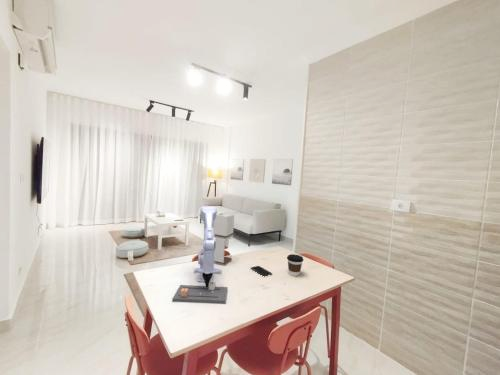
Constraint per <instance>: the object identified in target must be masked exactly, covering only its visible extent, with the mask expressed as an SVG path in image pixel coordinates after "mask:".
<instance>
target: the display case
mask: <svg viewBox="0 0 500 375" xmlns="http://www.w3.org/2000/svg"><path fill="white" fill-rule="evenodd" d="M234 223H235V214H234V213H233V214H229V215H223V212H219V213H217V215H216V218H215V220H214V221H213V222H212V228H213V229H214V235H215V240H216V249H214V250H215V263H214V265H218V266H223V267H225V266H227V265H228V264H229V263H230V262H232V260H233V258H232V257H229V256H225V250H227V249H229V243H230V242H229V240H230V239H233V238H234V225H235V224H234Z"/></svg>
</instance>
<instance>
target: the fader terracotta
mask: <svg viewBox="0 0 500 375" xmlns="http://www.w3.org/2000/svg"><path fill="white" fill-rule="evenodd" d="M187 295H188V288H182V290H181V297H187Z"/></svg>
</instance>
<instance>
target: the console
mask: <svg viewBox="0 0 500 375" xmlns="http://www.w3.org/2000/svg"><path fill="white" fill-rule="evenodd" d="M182 288H188V295H187V297H181V290H182ZM228 289H229V287H228V286H215V290H209V286H208V287H206V285H193V284H188V285H187V284H180V285H179V286H178V288H177V289H176V292H175V293H174V295H173V297H172V302H175V303H176V302H177V303H197V304H198V303H199V304H200V303H201V304H220V305H222V304H223V305H224V304H225V305H226V303H227V295H228Z"/></svg>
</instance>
